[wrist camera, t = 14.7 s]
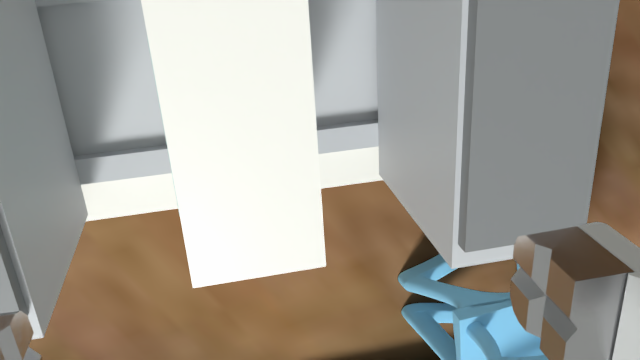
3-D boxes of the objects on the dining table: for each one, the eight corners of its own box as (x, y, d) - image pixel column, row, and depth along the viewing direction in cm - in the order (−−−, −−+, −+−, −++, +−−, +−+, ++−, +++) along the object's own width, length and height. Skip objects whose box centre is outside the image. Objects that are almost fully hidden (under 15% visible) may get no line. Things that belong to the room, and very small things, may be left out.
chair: (393, 240, 34) (484, 388, 23) (525, 210, 35) (673, 337, 24) (404, 343, 37) (488, 515, 26) (525, 313, 38) (655, 466, 27)
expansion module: (266, -55, 24) (304, -47, 16) (287, 168, 28) (326, 266, 20) (150, -47, 23) (128, -33, 15) (189, 181, 27) (188, 289, 19)
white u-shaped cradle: (503, -121, 27) (711, -153, 16) (486, 157, 33) (631, 270, 22) (-164, -84, 23) (-489, -95, 12) (-49, 231, 28) (-198, 417, 17)
